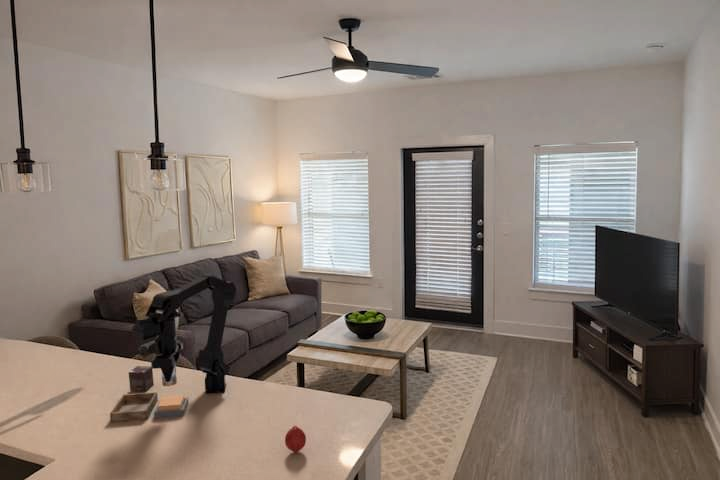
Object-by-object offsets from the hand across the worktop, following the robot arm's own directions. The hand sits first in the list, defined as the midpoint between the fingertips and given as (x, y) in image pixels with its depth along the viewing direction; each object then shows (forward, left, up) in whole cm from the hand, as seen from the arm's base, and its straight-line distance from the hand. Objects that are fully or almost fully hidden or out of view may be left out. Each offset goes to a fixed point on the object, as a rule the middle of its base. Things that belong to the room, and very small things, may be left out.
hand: (169, 378), depth 167 cm
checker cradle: (0, 0, -11) cm, 11 cm away
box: (+14, -21, -11) cm, 27 cm away
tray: (+12, -2, -11) cm, 16 cm away
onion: (-40, +32, -11) cm, 52 cm away
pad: (0, 0, -9) cm, 9 cm away
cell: (0, 0, -2) cm, 2 cm away
